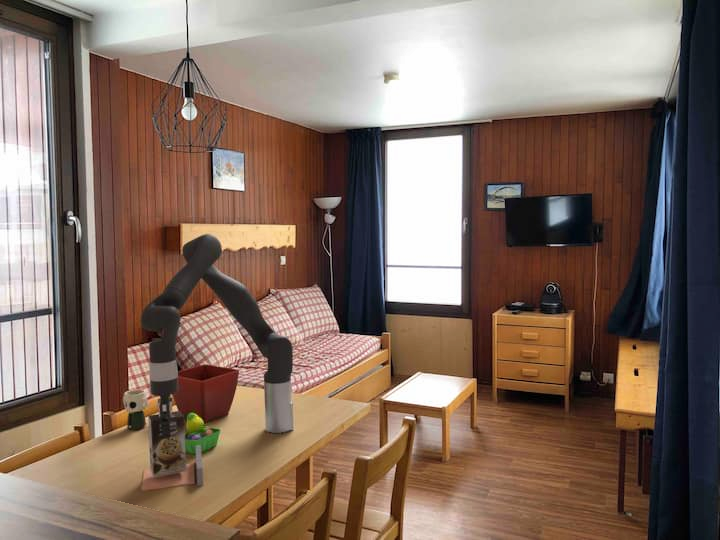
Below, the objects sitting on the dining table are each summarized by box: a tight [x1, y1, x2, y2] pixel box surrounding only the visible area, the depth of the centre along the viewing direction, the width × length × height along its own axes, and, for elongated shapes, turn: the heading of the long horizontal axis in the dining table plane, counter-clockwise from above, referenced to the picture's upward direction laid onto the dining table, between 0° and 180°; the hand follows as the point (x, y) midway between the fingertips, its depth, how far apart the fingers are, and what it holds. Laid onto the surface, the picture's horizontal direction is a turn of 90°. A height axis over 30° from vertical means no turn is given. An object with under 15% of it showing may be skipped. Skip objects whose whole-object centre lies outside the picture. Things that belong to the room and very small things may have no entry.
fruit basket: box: [185, 413, 221, 455], centre depth 191 cm, size 11×9×11 cm
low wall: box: [195, 445, 204, 487], centre depth 172 cm, size 2×18×5 cm, turn 16°
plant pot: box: [171, 364, 240, 424], centre depth 223 cm, size 19×19×17 cm
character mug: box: [122, 389, 149, 430], centre depth 212 cm, size 11×7×13 cm, turn 66°
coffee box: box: [147, 410, 187, 477], centre depth 169 cm, size 9×6×16 cm
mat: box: [140, 462, 196, 492], centre depth 170 cm, size 14×14×1 cm
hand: (166, 433), depth 169 cm, fingers closed on coffee box, 7 cm apart
